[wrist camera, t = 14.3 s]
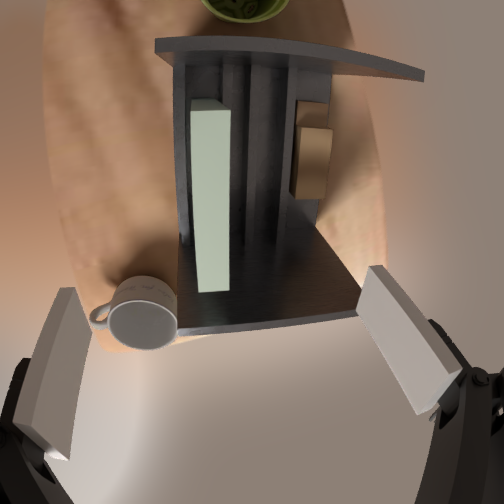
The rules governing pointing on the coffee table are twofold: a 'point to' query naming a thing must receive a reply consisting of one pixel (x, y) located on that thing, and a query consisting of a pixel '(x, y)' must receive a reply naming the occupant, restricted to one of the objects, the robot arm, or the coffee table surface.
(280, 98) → the rack
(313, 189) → the offcut upper
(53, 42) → the coffee table surface
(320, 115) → the offcut lower
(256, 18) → the plant pot
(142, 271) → the coffee table surface
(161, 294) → the teacup
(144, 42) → the coffee table surface
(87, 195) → the coffee table surface
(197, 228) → the sage panel
